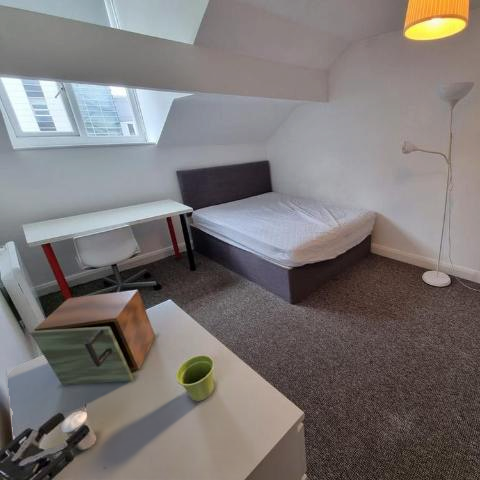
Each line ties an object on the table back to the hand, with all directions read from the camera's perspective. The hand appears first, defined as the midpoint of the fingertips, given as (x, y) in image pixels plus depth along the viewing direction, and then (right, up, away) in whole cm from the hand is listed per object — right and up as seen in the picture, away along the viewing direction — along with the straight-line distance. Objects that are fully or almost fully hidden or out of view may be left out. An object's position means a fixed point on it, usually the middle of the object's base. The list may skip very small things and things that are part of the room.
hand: (74, 421), depth 60 cm
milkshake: (0, -7, +4) cm, 8 cm away
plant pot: (+22, -2, +15) cm, 27 cm away
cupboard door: (-10, -2, +16) cm, 19 cm away
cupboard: (-12, +3, +27) cm, 29 cm away
